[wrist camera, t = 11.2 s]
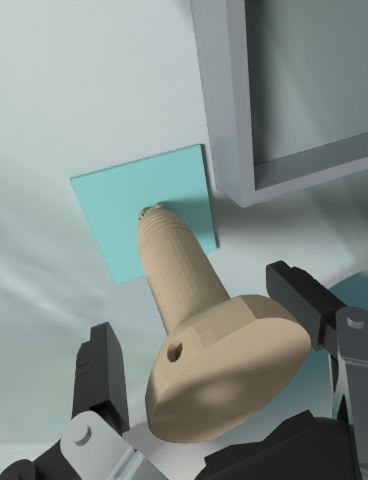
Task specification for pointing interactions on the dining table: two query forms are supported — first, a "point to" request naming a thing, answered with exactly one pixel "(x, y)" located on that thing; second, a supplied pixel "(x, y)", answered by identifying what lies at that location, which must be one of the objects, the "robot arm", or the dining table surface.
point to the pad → (144, 204)
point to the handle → (209, 339)
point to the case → (239, 117)
